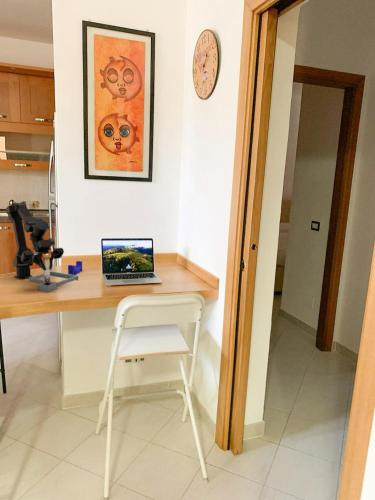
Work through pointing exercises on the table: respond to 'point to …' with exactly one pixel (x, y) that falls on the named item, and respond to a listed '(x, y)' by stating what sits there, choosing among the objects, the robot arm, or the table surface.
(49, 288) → the lock block
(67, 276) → the tray
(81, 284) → the table surface
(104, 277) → the table surface
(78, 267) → the cable clip
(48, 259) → the lock pin
